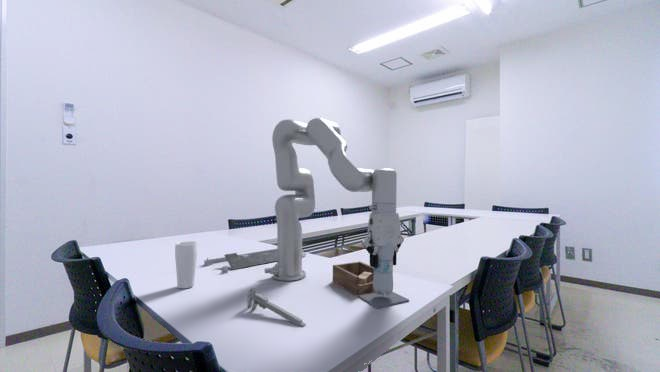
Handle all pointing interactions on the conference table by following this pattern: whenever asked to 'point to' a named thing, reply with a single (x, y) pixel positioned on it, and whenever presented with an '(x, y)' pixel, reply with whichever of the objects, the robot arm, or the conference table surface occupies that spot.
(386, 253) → the bottle
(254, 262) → the paper cutter
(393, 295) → the mat
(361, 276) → the offcut upper
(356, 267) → the open wooden box
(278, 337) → the conference table surface
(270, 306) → the caliper
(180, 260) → the drinking glass
